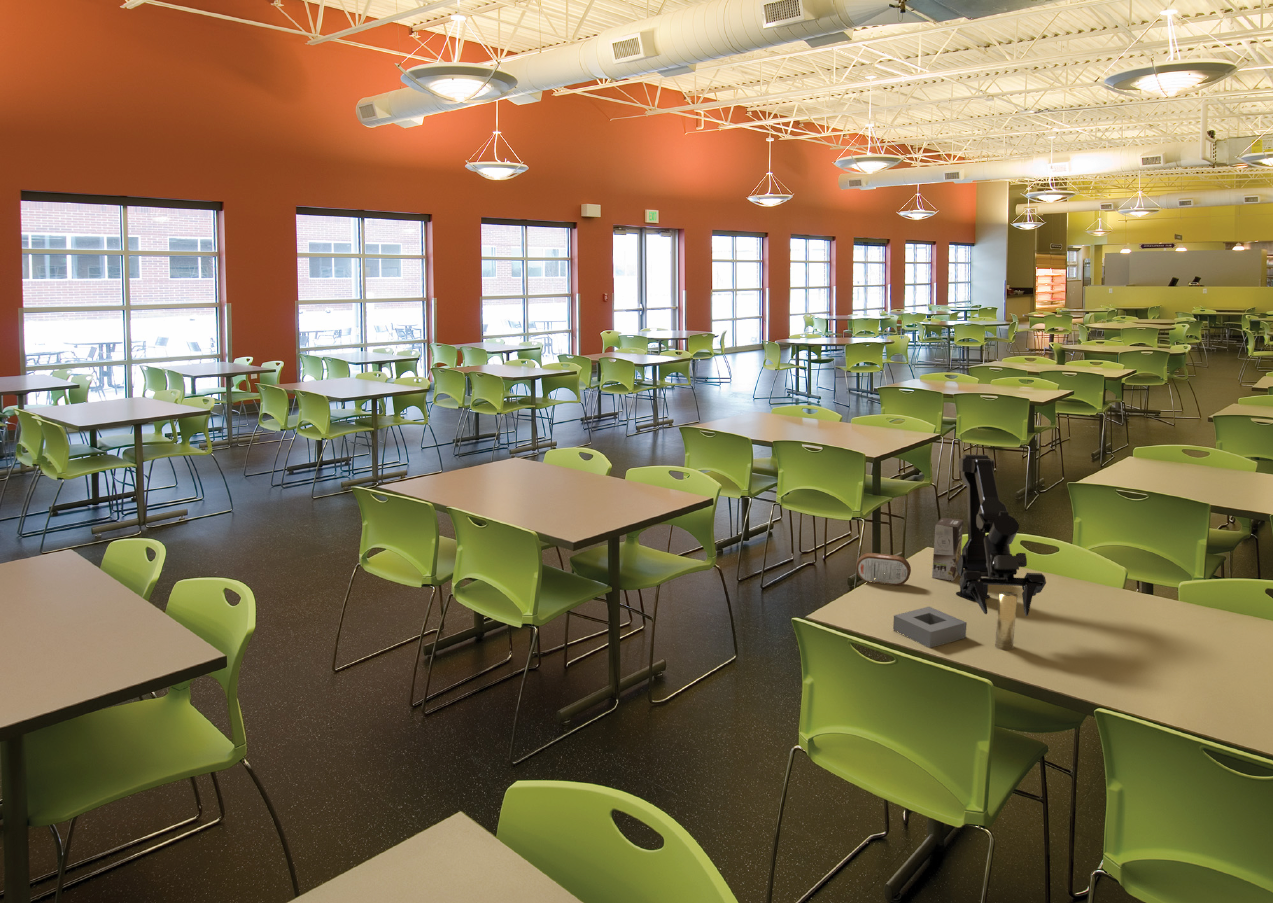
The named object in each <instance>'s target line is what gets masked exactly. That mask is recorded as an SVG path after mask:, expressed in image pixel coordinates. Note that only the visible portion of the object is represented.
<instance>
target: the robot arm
mask: <svg viewBox="0 0 1273 903" xmlns="http://www.w3.org/2000/svg"><path fill="white" fill-rule="evenodd" d="M957 463H958V464H957V466H958V471H959V472H960V478H961V480H962V482H963V483H964V485H965V486H966V494H967V495H966V496H967V498H966V500H967V503H966V504H967V506H966V508H967V540H966V543H965V544H964V546H962V548H961V556H960V558H959V560H958V562H957V572H958V575H959V577H960V579H959V590H960V591H955V595H957V596H960V597H962V598H965V599H967V600H970V601H972V602H976V603H977V604H978V605H979V608H980V609H981V610H982V612H983V614H984V615H988V606H987V601H986V600H987V599H989V598H991V595H990V594H988V591H989V585H990V586H1011V587H1013V586H1015V587H1021V588H1022V594H1021V595H1022V596H1021V597H1022V606H1023V612H1024V615H1025V617H1028V616H1029V614H1030V608H1031V603H1032V599H1033V597H1035V596H1036V595H1037V594H1039V593H1041V592H1042V591H1043V589H1044V587H1045V586H1046V584H1047V581H1046V576H1045V575H1044V574H1043V573H1041V572H1026V573H1025V575H1024V576H1023V577H1015V576H1016V575H1017V574H1018V570H1020V568H1025V567H1027V566H1028V561H1027V560H1028V558H1027V555H1026V553H1025V552H1017V553H1015V555H1013V554H1012V553H1011V547H1010V545H1012V544H1013V542H1014V540H1015V538H1016V535H1017V534H1018V532H1019V529H1020V524H1019V522H1018V520H1016V519H1015V517H1013V516H1011V514H1009V511H1008V508H1007V506H1006V504H1004V503H1003V502H1002V501H1000V498H999V492H998V488H997V483H996V479H995V474H994V473H995V458H990V457H989V456H988V454H967V453H964V454H963V456H962V458H961V457H960V458H958V462H957ZM986 533H988V534H986Z"/></svg>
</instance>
